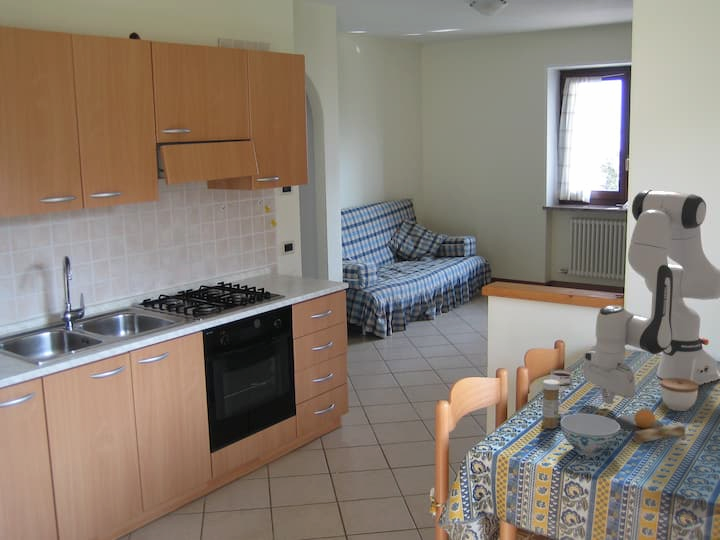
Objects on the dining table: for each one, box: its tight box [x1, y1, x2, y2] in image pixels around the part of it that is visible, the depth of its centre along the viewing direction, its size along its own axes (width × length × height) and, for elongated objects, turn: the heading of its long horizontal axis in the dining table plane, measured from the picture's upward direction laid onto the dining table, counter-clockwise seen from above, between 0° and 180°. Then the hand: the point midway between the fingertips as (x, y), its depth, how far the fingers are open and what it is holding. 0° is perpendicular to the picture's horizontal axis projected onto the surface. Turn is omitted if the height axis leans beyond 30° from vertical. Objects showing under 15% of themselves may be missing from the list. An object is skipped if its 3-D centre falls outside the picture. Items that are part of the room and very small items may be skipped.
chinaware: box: [560, 413, 621, 457], centre depth 204 cm, size 15×15×8 cm
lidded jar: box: [659, 378, 700, 412], centre depth 236 cm, size 11×11×9 cm
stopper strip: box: [633, 422, 686, 444], centre depth 213 cm, size 16×2×2 cm, turn 111°
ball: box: [634, 408, 656, 429], centre depth 220 cm, size 6×6×6 cm
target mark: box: [614, 414, 664, 432], centre depth 224 cm, size 13×13×1 cm
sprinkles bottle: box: [541, 378, 560, 429], centre depth 221 cm, size 5×5×14 cm
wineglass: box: [549, 369, 574, 415], centre depth 233 cm, size 7×7×12 cm
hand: (607, 402), depth 236 cm, fingers closed
